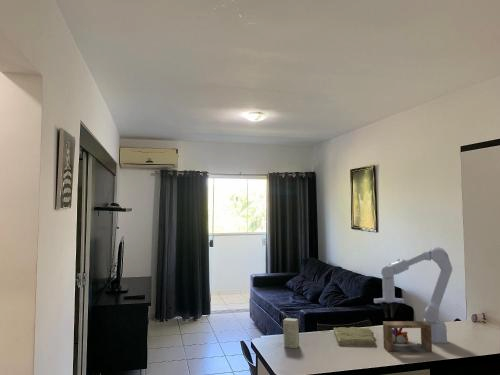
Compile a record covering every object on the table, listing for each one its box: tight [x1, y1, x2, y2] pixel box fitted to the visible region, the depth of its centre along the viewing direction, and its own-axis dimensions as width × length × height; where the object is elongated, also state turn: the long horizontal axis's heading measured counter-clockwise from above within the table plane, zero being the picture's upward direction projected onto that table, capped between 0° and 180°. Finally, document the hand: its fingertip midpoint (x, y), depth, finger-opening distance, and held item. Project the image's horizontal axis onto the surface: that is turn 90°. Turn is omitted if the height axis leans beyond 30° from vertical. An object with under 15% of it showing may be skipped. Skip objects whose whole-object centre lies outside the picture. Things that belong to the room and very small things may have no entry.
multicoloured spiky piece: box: [392, 328, 409, 344], centre depth 180 cm, size 8×10×7 cm
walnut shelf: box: [382, 320, 433, 354], centre depth 169 cm, size 19×7×12 cm, turn 90°
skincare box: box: [282, 317, 300, 349], centre depth 175 cm, size 6×4×12 cm
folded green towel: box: [333, 326, 377, 347], centre depth 184 cm, size 19×20×4 cm
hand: (389, 317), depth 191 cm, fingers open, 2 cm apart
